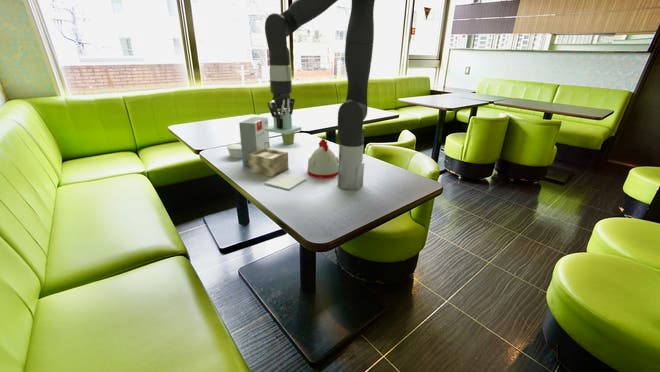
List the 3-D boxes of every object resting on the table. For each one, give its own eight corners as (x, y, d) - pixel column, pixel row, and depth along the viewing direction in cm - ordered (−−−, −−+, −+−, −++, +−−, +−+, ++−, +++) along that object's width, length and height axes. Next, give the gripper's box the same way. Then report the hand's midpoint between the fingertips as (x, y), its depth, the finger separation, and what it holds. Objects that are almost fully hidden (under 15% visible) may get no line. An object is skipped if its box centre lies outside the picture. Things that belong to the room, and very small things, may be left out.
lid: (301, 129, 114) (300, 113, 111) (287, 134, 107) (287, 117, 105) (278, 126, 118) (277, 111, 116) (264, 130, 112) (263, 114, 109)
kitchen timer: (314, 180, 123) (314, 145, 117) (303, 169, 135) (302, 137, 129) (344, 175, 129) (345, 141, 123) (330, 165, 140) (331, 134, 134)
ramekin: (254, 153, 156) (253, 143, 154) (246, 159, 146) (245, 149, 144) (233, 152, 157) (232, 142, 155) (224, 158, 147) (223, 148, 145)
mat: (306, 179, 124) (306, 178, 123) (289, 190, 114) (289, 188, 114) (282, 174, 129) (282, 173, 128) (264, 184, 119) (264, 182, 119)
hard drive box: (258, 167, 137) (254, 123, 128) (242, 165, 138) (237, 122, 130) (270, 156, 151) (268, 117, 142) (256, 155, 152) (253, 116, 144)
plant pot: (295, 145, 170) (295, 130, 166) (279, 145, 170) (278, 129, 166) (297, 140, 178) (296, 126, 175) (281, 140, 179) (280, 126, 175)
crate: (288, 169, 135) (287, 152, 131) (273, 177, 126) (272, 159, 123) (265, 164, 140) (264, 147, 137) (249, 171, 131) (248, 154, 128)
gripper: (276, 81, 98) (279, 132, 105) (300, 78, 109) (301, 125, 116) (259, 79, 101) (263, 130, 108) (283, 77, 113) (286, 123, 120)
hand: (283, 127), depth 112 cm, fingers closed on lid, 3 cm apart
